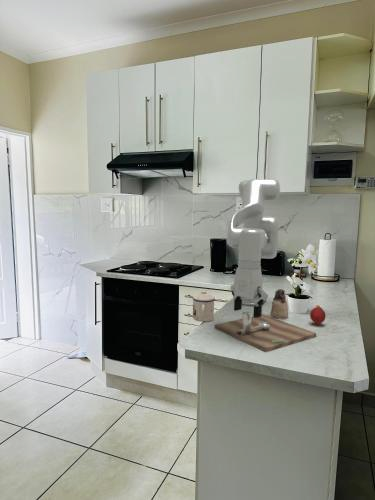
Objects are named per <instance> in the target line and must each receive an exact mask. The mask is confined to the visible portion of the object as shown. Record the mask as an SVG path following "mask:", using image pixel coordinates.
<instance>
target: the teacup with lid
mask: <svg viewBox="0 0 375 500" xmlns="http://www.w3.org/2000/svg"><path fill="white" fill-rule="evenodd" d="M215 300H216V298H215V297H214V296H213V295H211V294H210V293H208V292H207V291H206V290H202V291H201V292H200V293H197V294H195V295H193V296H192V319H193V320H194V321H197V322H199V323H200V322H203V323H204V321H205V323H206V322H208V323H209V322H212V321H213V320H214V319H215V317H214V316H215Z"/></svg>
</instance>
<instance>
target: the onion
mask: <svg viewBox="0 0 375 500" xmlns="http://www.w3.org/2000/svg"><path fill="white" fill-rule="evenodd" d="M326 317H327V315H326V312H325V310H324V309H323V308H322V307H321V306H320V305H319V304H317V305H316V306H314V307H313V308H312V310H311V311H310V313H309V318H310V320H311V321H312V323H314V324H315V325H320V324H322V323H324V322H325V320H326Z"/></svg>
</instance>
